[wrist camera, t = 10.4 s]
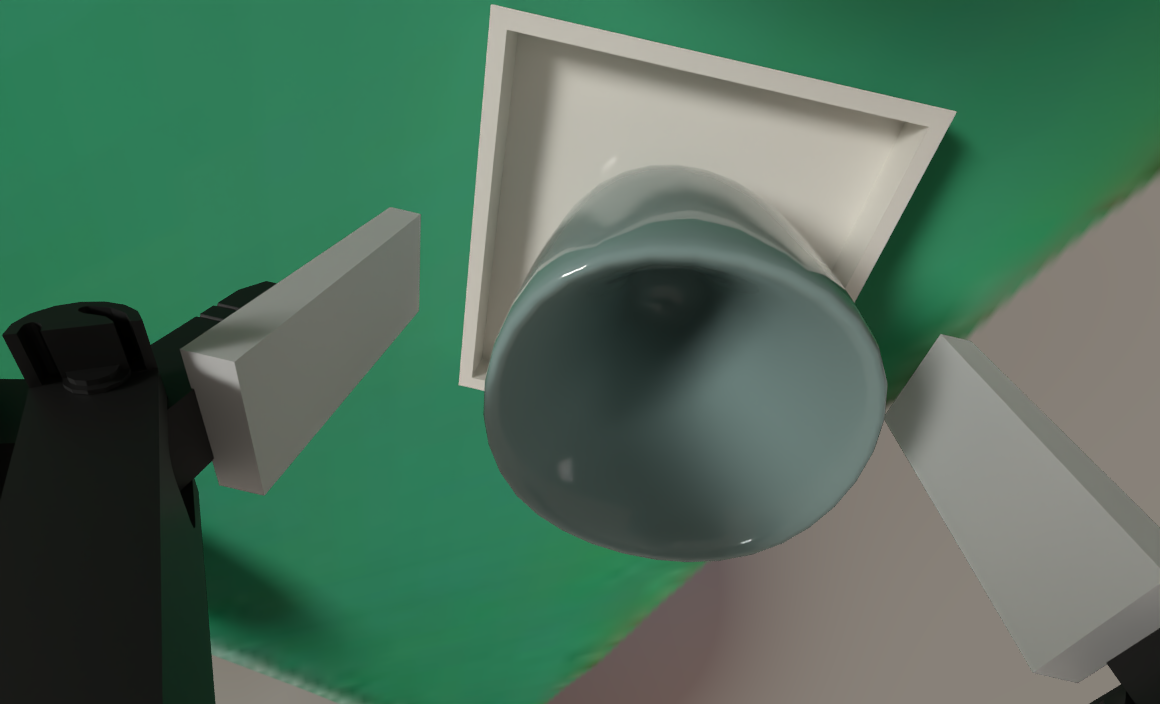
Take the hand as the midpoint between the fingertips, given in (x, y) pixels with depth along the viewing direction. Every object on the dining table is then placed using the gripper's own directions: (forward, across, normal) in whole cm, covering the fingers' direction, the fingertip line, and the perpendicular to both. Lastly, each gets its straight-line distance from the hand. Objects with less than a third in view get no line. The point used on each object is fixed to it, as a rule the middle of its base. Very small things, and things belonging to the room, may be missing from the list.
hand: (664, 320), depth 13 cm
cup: (+6, 0, -1) cm, 6 cm away
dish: (+7, 0, -1) cm, 7 cm away
